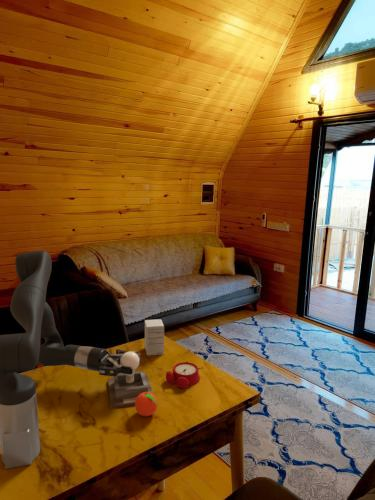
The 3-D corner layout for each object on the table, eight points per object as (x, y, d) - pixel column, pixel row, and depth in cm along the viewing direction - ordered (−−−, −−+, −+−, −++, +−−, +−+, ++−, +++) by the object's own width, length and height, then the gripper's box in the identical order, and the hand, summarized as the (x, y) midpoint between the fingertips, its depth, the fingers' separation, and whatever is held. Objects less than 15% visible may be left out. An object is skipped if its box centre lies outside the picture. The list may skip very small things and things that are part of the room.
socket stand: (154, 402, 121) (154, 391, 120) (111, 408, 117) (110, 397, 116) (147, 376, 136) (147, 366, 135) (108, 381, 132) (107, 371, 131)
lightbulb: (121, 388, 122) (121, 358, 120) (119, 378, 128) (119, 349, 126) (140, 386, 124) (140, 356, 121) (138, 376, 130) (138, 347, 127)
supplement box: (144, 347, 158) (144, 319, 155) (161, 346, 159) (161, 318, 157) (146, 356, 151) (146, 326, 148) (164, 354, 152) (164, 325, 150)
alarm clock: (207, 366, 136) (184, 375, 124) (204, 383, 137) (181, 393, 124) (184, 358, 142) (159, 365, 130) (181, 374, 142) (157, 383, 130)
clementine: (164, 413, 115) (164, 393, 113) (150, 425, 109) (150, 404, 108) (145, 404, 119) (145, 384, 118) (130, 415, 114) (129, 394, 112)
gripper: (79, 358, 120) (127, 366, 116) (101, 339, 134) (144, 346, 130) (80, 379, 122) (127, 387, 118) (101, 358, 135) (144, 365, 131)
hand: (136, 365), depth 124 cm, fingers closed on lightbulb, 6 cm apart
